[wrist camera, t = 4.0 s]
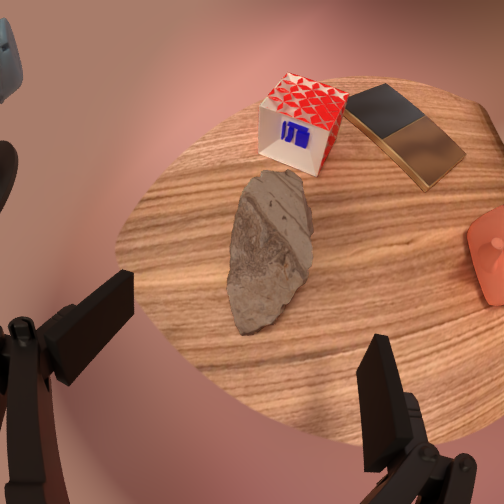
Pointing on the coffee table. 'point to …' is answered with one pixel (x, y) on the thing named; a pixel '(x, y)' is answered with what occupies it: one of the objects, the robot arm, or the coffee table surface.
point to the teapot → (489, 254)
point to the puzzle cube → (300, 122)
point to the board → (404, 134)
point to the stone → (268, 249)
